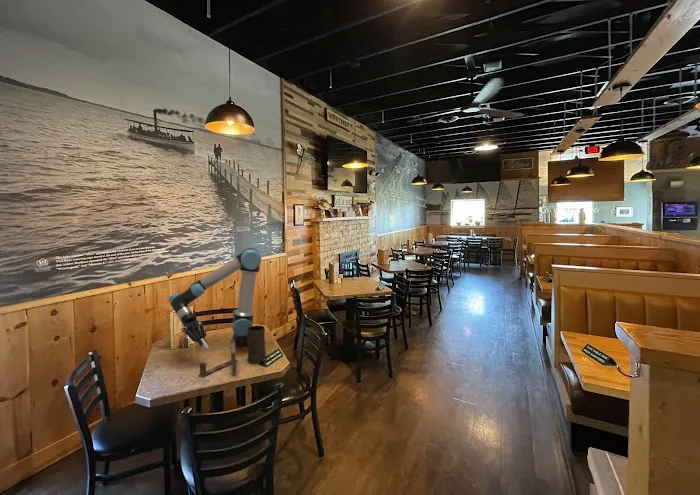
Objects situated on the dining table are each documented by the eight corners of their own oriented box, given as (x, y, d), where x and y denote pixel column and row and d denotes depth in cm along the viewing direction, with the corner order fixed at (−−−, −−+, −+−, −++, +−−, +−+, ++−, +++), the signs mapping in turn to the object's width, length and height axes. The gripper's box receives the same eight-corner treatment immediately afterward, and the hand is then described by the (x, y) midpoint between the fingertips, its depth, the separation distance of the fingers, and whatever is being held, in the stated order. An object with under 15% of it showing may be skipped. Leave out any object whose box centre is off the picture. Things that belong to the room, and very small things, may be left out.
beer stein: (265, 363, 195) (264, 329, 194) (246, 365, 193) (245, 330, 192) (267, 354, 210) (266, 322, 209) (249, 355, 208) (249, 323, 208)
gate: (231, 361, 196) (230, 342, 195) (235, 360, 196) (234, 341, 195) (232, 373, 180) (231, 353, 179) (236, 373, 181) (235, 352, 179)
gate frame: (233, 360, 200) (232, 338, 199) (237, 361, 198) (236, 340, 197) (198, 376, 180) (197, 352, 179) (202, 377, 178) (201, 353, 177)
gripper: (194, 317, 205) (213, 348, 198) (173, 323, 194) (193, 357, 187) (198, 309, 202) (219, 341, 195) (178, 315, 191) (199, 349, 184)
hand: (206, 349), depth 191 cm, fingers closed
